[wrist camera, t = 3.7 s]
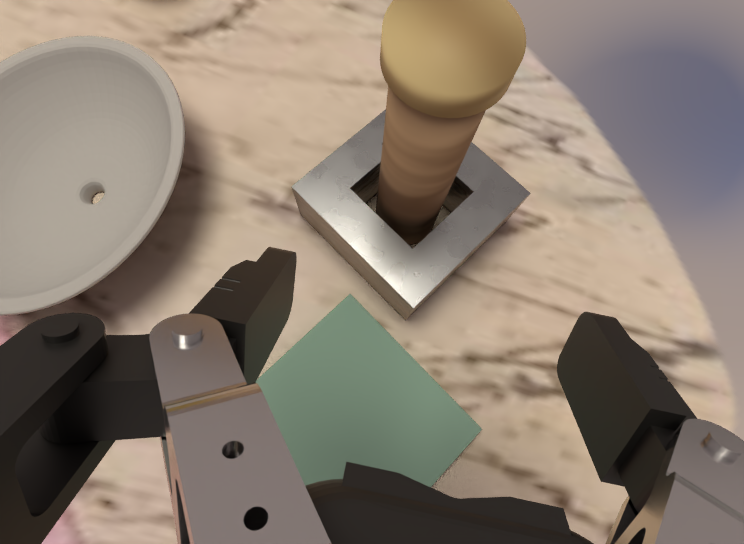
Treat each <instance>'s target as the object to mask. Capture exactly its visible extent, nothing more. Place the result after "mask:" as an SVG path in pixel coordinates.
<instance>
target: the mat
mask: <svg viewBox="0 0 744 544" xmlns="http://www.w3.org/2000/svg"><path fill="white" fill-rule="evenodd" d="M256 383H257V384H258V385H259V386H260V388H261V390H262V392H263V394H264V396H265V399H266V401H267V403H268V405H269V407H270V410H271V412H272V414H273V416H274V418H275V421H276V423H277V425H278V427H279V429H280V432H281V434H282V436H283V438H284V440H285V443H286V445H287V447H288V449H289V451H290V454H291V456H292V458H293V460H294V462H295V465H296V467H297V469H298V471H299V473H300V476H301V478H302V480H303V482H304V484H305V485H309V484H312V483H315V482H319V481H325V480H331V479H343V475H344V470H345V466H346V462H351V463H356V464H360V465H365V466H369V467H374V468H379V469H383V470H388V471H393V472H397V473H400V474H403V475H405V476H407V477H409V478H411V479H413V480H416V481H418V482H420V483H422V484H424V485H426V486H428V487H431V486H432V485H433V484H434V483H435V482H436V481H437V480H438V478H439V477H440V476H441V475H442V474H443V473H444V472H445V471H446V469H447V468H448V467H449V466H450V465H451V464H452V463H453V462H454V460H455V459H456V458H457V457H458V456H459V455H460V454H461V453H462V451H463V450H464V449H465V448H466V447H467V446H468V445H469V444H470V442H471V441H472V440H473V439H474V438H475V437H476V436H477V434H478V433H479V432H480V431H481V430H482V429H481V428H480V426H479V425H478V424H477V423H476V422H475V421H474V420H473V419H472V418H471V417H470V416H469V415H468V414H467V413H466V412H465V411H464V410H463V409H462V408H461V407H460V406H459V405H458V404H457V403H456V402H455V401H454V400H453V399H452V398H451V397H450V396H449V395H448V394H447V393H446V392H445V391H444V390H443V389H442V388H441V386H440V385H439V384H438V383H437V382H436V381H435V380H434V379H433V378H432V377H431V376H430V375H429V374H428V373H427V372H426V371H425V370H424V369H423V368H422V367H421V366H420V365H419V364H418V363H417V362H416V361H415V360H414V359H413V358H412V357H411V356H410V355H409V354H408V353H407V352H406V351H405V350H404V349H403V348H402V346H401V345H400V344H399V343H398V342H397V341H396V340H395V339H394V338H393V337H392V336H391V335H390V334H389V333H388V332H387V331H386V330H385V329H384V328H383V327H382V326H381V325H380V324H379V323H378V322H377V321H376V320H375V319H374V318H373V317H372V316H371V315H370V314H369V313H368V312H367V311H366V310H365V309H364V308H363V306H362V305H361V304H360V303H359V302H358V301H357V300H356V299H355V298H354V297H353V296H352V295H351V294H349V295H348V296H347V297H346V298H345V299H344V300H343V301H342V302H341V303H340V304H338V305H337V306H336V307H335V308H334V309H333V310H332V311H331V312H330V313H329V314H328V315H327V316H326V317H324V318H323V319H322V320H321V321H320V322H319V323H318V324H317V325H316V326H315V327H314V328H313V329H312V330H310V331H309V332H308V333H307V334H306V335H305V336H304V337H303V338H302V339H301V340H300V341H299V342H297V343H296V344H295V345H294V346H293V347H292V348H291V349H290V350H289V351H288V352H287V353H286V354H285V355H283V356H282V357H281V358H280V359H279V360H278V361H277V362H276V363H275V364H274V365H273V366H272V367H270V368H269V369H268V370H267V371H266V372H265V373H264V374H263V375H262V376H261V377H260V378H259V379H258V380H256Z"/></svg>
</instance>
